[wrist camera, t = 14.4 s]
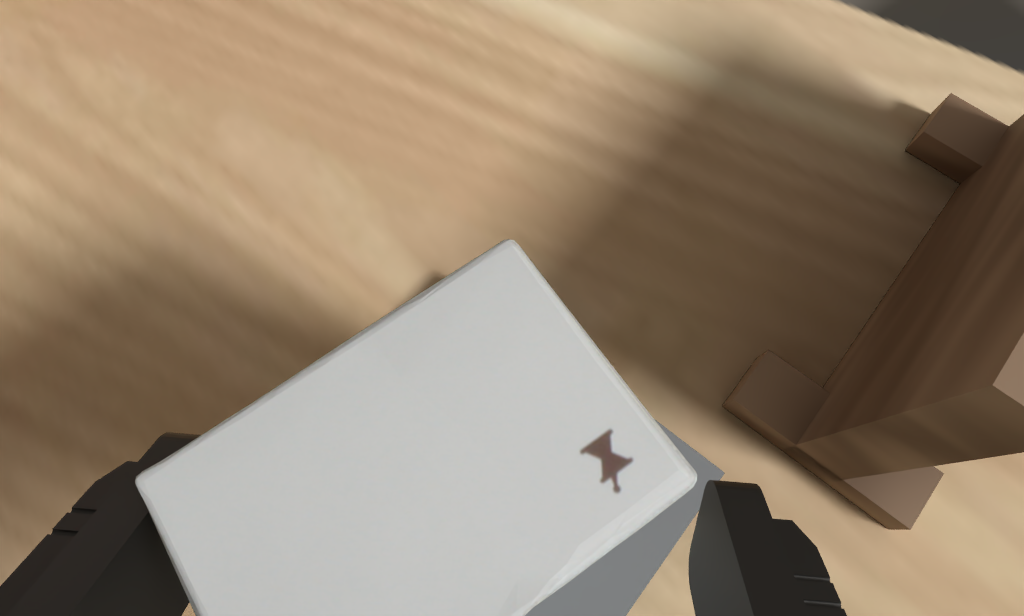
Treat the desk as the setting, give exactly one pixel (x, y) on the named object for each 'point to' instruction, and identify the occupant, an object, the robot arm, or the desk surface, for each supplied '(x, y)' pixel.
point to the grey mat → (632, 554)
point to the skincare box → (421, 465)
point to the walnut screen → (921, 342)
